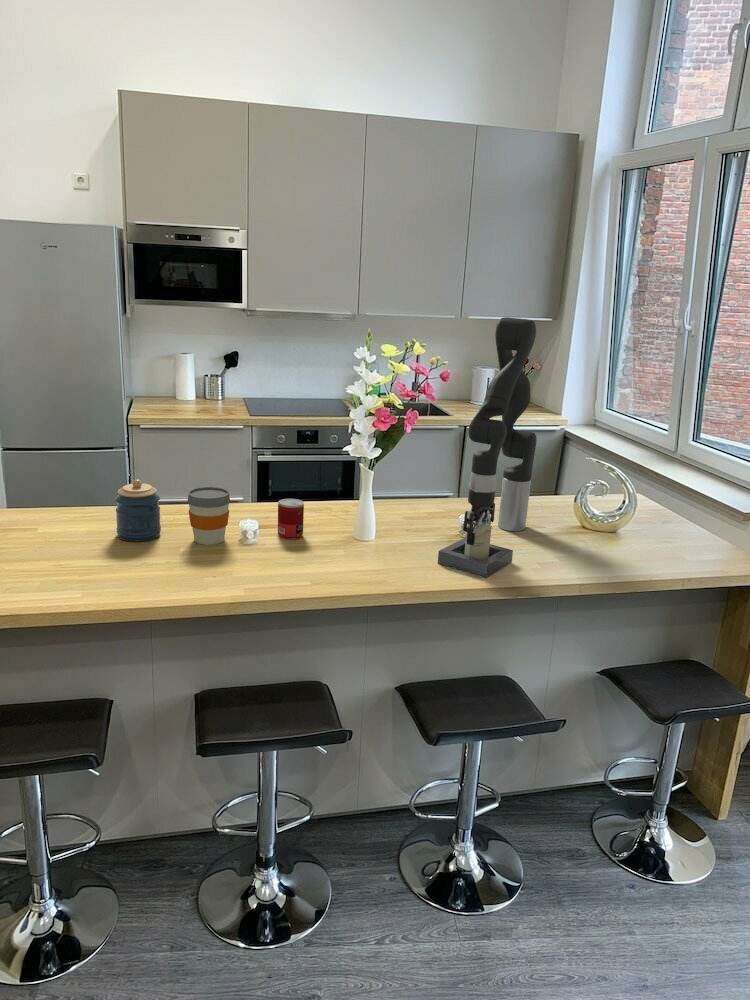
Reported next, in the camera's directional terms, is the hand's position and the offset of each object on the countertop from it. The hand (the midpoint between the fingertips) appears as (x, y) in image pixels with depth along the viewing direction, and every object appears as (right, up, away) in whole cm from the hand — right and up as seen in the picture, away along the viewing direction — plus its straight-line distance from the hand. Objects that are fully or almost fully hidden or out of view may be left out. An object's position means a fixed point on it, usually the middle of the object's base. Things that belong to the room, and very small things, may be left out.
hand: (477, 540), depth 228 cm
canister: (-102, +1, +10) cm, 103 cm away
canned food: (-57, +1, +17) cm, 59 cm away
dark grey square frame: (0, -7, +2) cm, 7 cm away
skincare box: (0, -7, +2) cm, 7 cm away
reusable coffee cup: (-81, 0, +9) cm, 81 cm away
